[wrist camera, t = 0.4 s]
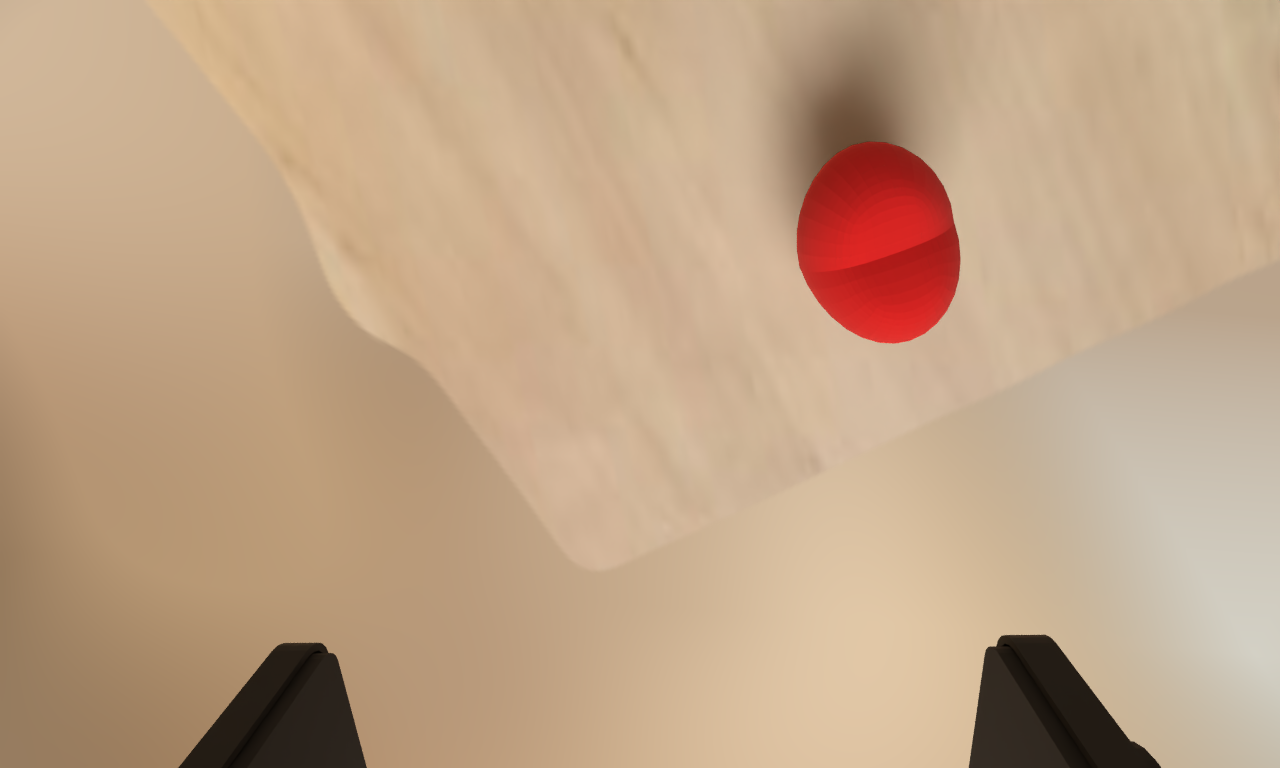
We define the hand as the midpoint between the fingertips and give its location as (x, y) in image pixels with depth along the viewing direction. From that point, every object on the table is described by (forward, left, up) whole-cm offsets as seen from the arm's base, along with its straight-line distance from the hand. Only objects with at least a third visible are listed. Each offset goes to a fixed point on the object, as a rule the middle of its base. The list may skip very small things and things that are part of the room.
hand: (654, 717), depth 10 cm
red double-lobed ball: (-3, +9, -31) cm, 33 cm away
